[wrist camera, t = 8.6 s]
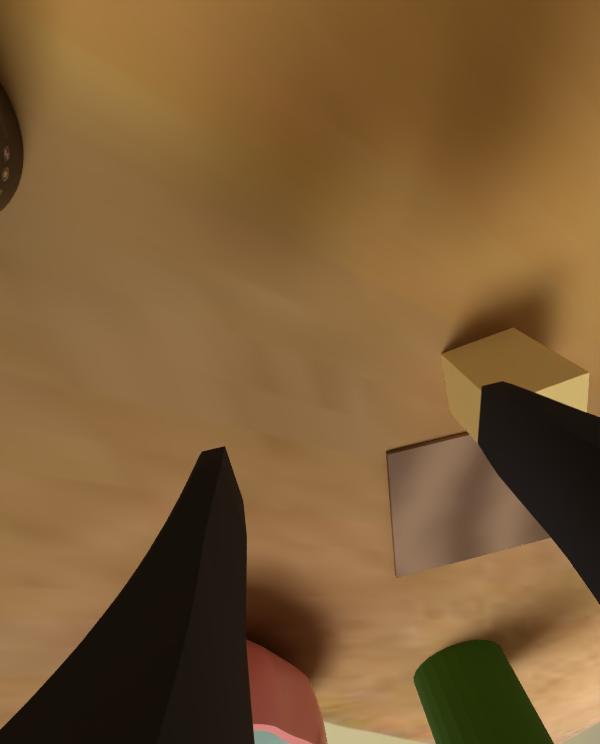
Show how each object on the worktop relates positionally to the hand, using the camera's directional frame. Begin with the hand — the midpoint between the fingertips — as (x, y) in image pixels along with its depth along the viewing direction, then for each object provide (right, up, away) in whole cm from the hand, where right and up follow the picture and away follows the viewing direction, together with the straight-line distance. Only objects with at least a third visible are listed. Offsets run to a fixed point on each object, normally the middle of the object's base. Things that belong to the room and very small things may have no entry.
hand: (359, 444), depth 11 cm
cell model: (-9, -22, +22) cm, 32 cm away
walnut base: (+10, -6, +17) cm, 20 cm away
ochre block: (+8, +2, +12) cm, 14 cm away
